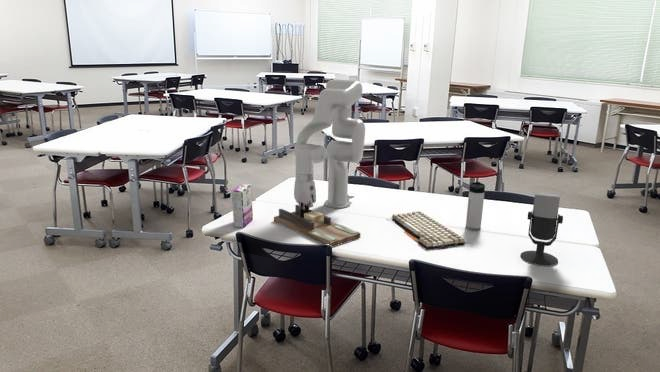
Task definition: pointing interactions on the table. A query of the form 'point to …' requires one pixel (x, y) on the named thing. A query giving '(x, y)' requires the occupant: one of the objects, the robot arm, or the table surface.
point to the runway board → (316, 228)
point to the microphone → (543, 229)
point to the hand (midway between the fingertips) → (304, 217)
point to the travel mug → (475, 206)
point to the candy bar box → (242, 205)
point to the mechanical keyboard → (427, 231)
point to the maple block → (315, 218)
